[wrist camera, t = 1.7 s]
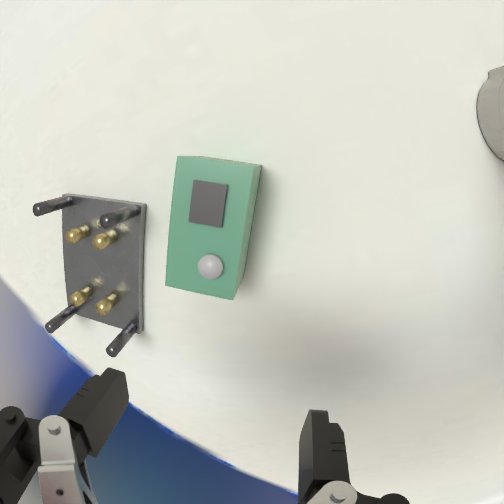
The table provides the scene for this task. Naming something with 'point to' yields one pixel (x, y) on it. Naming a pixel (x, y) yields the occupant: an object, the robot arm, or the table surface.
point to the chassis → (101, 262)
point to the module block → (210, 224)
